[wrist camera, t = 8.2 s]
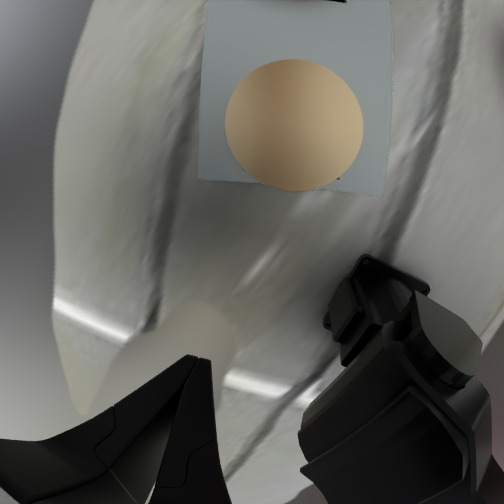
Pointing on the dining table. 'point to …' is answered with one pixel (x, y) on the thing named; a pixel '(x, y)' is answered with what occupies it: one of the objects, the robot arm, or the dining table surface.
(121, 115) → the dining table surface
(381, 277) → the robot arm
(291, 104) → the knob
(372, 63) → the grey peg holder block
